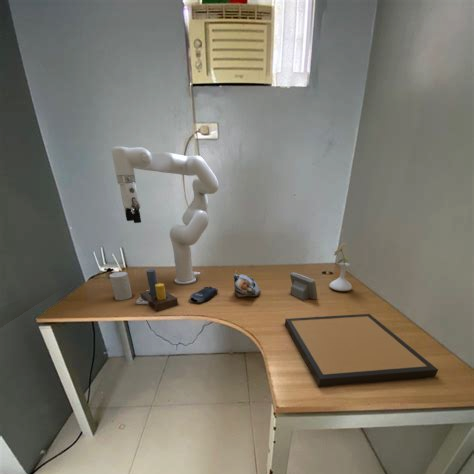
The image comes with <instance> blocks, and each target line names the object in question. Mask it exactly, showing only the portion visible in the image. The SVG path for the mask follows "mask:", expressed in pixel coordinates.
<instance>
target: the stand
mask: <svg viewBox="0 0 474 474" xmlns="http://www.w3.org/2000/svg"><path fill="white" fill-rule="evenodd" d="M148 290H149V291H147V290H145V291H142V292H139V295H140V297H141V298H140V299H142V300H141V301H143V300H144V301H145V302H148V304H147V305H148V306H149V307H150V308H151V309H153V310H154V311H155V312H160V311H163V310H167V309H170V308H174V307H175V306H178V305H179V302H178V297H176V296H174V295H173V294H171V292H170V293H169V292H168V291H166V290H165V295H166V299H164V300H160V301H159V300H157V295H154V296H152V295H151V294H150V289H148Z"/></svg>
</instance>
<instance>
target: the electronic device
mask: <svg viewBox="0 0 474 474" xmlns="http://www.w3.org/2000/svg"><path fill="white" fill-rule="evenodd" d="M218 292H219V288H215V287H212V286H204V287H203V288H202V289H200V290H198V291H195V292H194V293H191V294H190V296H189V300H190V302H191V303H198V304H199V303H204V302H207V301H209V300H210V299H211V298H212V297H214V296H215V295H217V294H219V293H218Z"/></svg>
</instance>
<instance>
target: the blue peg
mask: <svg viewBox="0 0 474 474" xmlns="http://www.w3.org/2000/svg"><path fill="white" fill-rule="evenodd" d="M145 272H146V278H147V282H148V287H149V290H150V294H151V295H152V296H154V295H157V294H156V288H155V285H156V284H158V277H157V272H156V269H154V268H153V269H152V268H150V269H147V270H146V271H145Z"/></svg>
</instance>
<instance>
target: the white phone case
mask: <svg viewBox="0 0 474 474" xmlns="http://www.w3.org/2000/svg"><path fill="white" fill-rule="evenodd" d="M149 290H150V289H147V290H146V291H149ZM136 305H148V302H145V301H144V300H142V299H141V296H140V297H139V298H138V299H137V300H136Z"/></svg>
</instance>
